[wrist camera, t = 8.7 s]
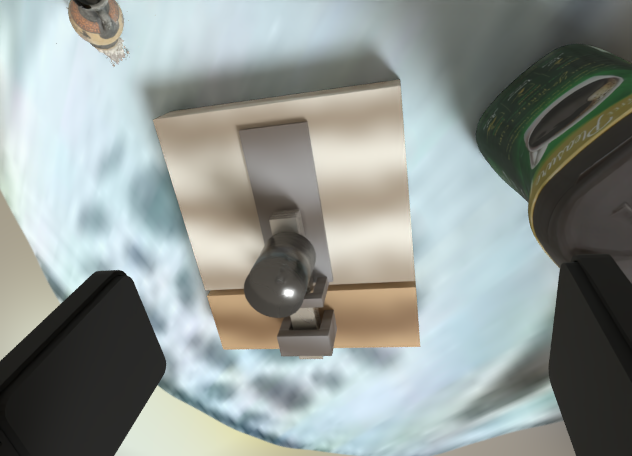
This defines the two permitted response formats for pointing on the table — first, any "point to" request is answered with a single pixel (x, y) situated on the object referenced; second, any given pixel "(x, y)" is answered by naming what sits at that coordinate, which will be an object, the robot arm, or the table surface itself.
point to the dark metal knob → (285, 274)
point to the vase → (99, 25)
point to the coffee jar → (568, 151)
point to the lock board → (316, 211)
